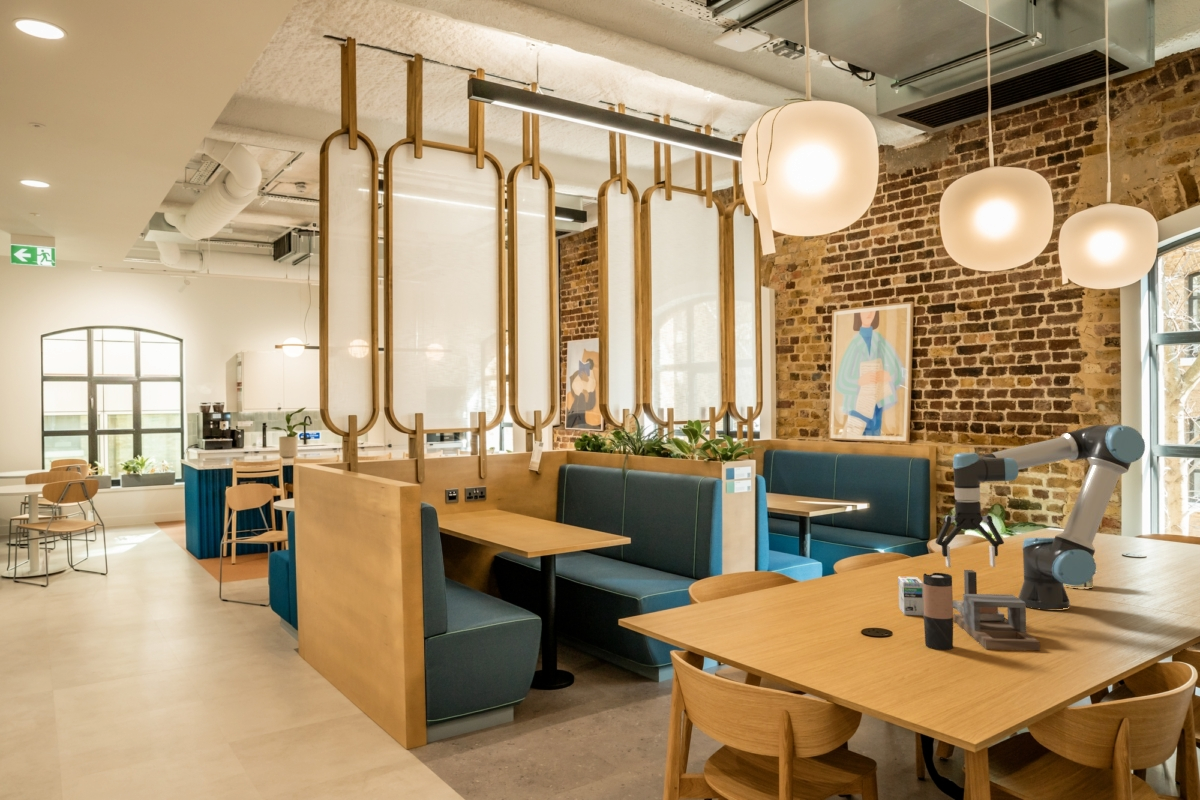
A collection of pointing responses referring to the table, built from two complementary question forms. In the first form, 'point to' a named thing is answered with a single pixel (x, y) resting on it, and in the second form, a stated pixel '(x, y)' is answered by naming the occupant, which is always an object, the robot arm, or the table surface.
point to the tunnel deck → (997, 623)
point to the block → (988, 610)
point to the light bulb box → (911, 595)
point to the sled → (971, 588)
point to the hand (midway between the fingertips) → (970, 566)
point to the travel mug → (938, 611)
